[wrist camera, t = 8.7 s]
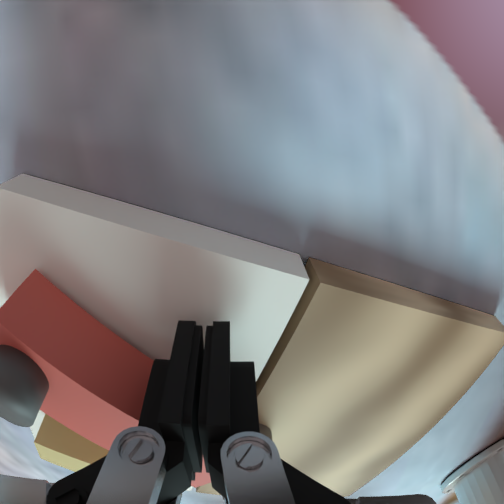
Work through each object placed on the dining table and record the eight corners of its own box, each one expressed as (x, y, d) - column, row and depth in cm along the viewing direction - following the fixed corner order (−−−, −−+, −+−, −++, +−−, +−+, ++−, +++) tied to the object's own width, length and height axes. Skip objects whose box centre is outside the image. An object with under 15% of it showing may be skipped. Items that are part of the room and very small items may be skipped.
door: (299, 254, 12) (330, 331, 8) (191, 470, 19) (189, 522, 15) (22, 173, 10) (-54, 214, 6) (44, 428, 17) (27, 476, 13)
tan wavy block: (494, 315, 14) (545, 375, 10) (344, 479, 21) (357, 530, 17) (294, 252, 12) (332, 355, 7) (188, 469, 19) (185, 533, 14)
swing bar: (243, 413, 13) (247, 500, 9) (198, 437, 14) (194, 514, 10) (35, 268, 9) (-32, 347, 5) (11, 315, 10) (-40, 388, 6)
